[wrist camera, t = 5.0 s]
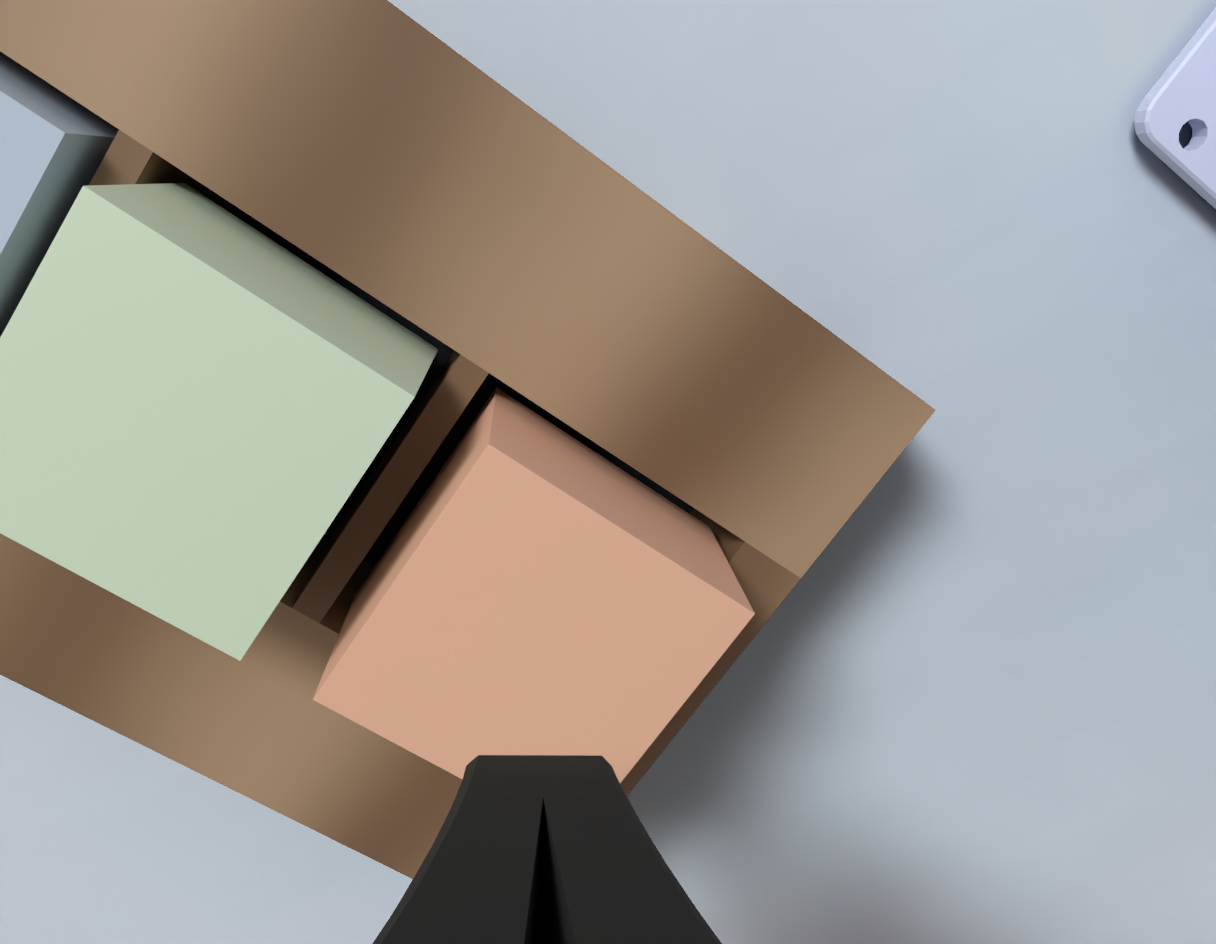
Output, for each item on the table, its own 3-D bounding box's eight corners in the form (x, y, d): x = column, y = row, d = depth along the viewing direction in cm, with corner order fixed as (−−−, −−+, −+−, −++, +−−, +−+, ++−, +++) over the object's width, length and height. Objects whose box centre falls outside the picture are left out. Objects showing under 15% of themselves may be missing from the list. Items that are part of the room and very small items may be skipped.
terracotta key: (709, 527, 16) (755, 614, 13) (563, 719, 17) (571, 844, 14) (496, 387, 15) (488, 443, 12) (352, 599, 16) (309, 704, 13)
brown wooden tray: (870, 372, 18) (935, 410, 15) (519, 825, 20) (518, 931, 18) (-85, -337, 14) (-247, -473, 11) (-389, 346, 16) (-587, 383, 13)
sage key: (438, 349, 15) (415, 397, 12) (294, 566, 16) (236, 666, 13) (184, 183, 14) (82, 185, 11) (45, 426, 15) (-86, 495, 12)
